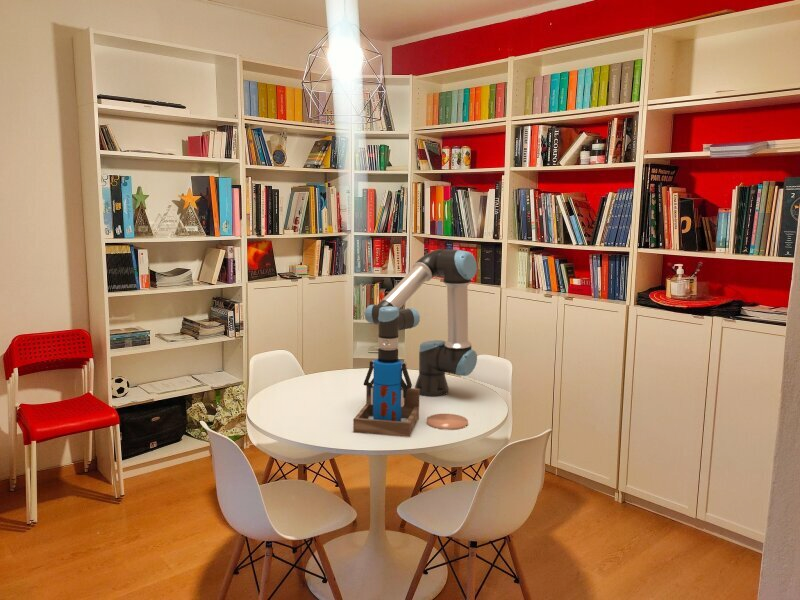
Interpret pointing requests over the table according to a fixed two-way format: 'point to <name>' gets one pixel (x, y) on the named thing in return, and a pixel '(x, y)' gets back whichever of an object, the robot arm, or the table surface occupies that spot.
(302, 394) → the table surface
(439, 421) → the terracotta disc
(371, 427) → the frame
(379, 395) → the thermos
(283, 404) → the table surface
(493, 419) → the table surface
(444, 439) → the table surface
